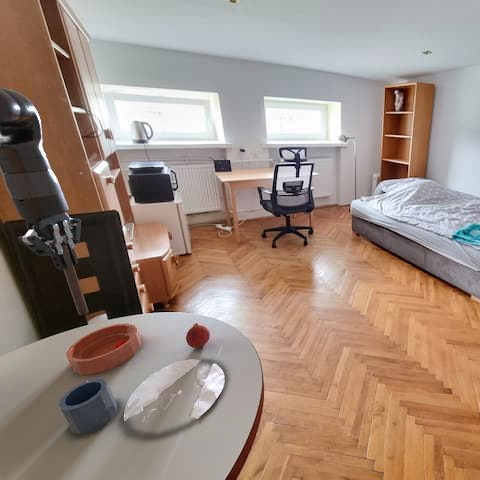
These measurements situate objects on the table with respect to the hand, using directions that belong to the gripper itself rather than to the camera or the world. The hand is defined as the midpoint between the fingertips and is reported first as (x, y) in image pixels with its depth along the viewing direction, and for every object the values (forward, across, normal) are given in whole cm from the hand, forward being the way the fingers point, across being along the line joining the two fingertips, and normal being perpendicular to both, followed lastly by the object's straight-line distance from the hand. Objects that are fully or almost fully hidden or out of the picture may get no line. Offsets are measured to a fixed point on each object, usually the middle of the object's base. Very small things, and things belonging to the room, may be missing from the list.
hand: (68, 266), depth 66 cm
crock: (+29, +18, +8) cm, 35 cm away
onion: (+29, -2, +23) cm, 37 cm away
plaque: (+29, +14, +24) cm, 40 cm away
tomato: (+27, -4, +1) cm, 27 cm away
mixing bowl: (+29, -2, -1) cm, 29 cm away
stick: (+13, 0, -1) cm, 13 cm away
